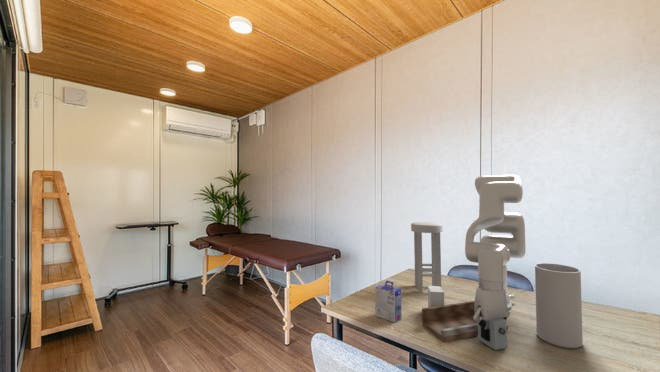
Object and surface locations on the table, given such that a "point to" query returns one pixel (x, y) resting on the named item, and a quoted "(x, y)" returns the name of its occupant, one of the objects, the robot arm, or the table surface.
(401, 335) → the table surface
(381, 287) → the ink cartridge box
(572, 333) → the cylinder vase
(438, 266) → the stool
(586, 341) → the table surface
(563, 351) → the table surface
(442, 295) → the small box
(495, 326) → the cabinet block
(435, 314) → the wooden ridged tray
